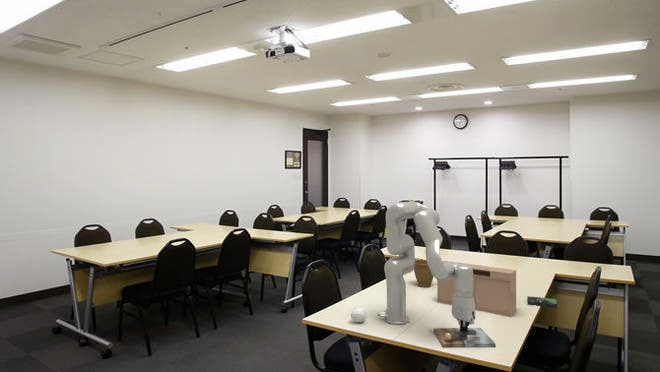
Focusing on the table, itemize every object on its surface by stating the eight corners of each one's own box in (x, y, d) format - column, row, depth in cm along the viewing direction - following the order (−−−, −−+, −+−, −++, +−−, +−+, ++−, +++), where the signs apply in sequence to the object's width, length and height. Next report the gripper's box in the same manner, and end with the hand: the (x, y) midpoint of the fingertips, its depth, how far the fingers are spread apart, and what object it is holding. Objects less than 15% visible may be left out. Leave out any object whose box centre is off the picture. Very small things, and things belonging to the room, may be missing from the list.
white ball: (357, 318, 213) (357, 303, 213) (369, 321, 208) (369, 306, 208) (347, 322, 207) (347, 307, 206) (360, 326, 202) (360, 310, 202)
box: (510, 317, 211) (510, 273, 210) (436, 303, 236) (436, 263, 236) (516, 312, 218) (516, 270, 218) (444, 298, 244) (444, 260, 243)
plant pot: (434, 283, 278) (433, 259, 278) (437, 289, 263) (437, 264, 263) (411, 283, 280) (411, 259, 279) (413, 289, 265) (413, 264, 264)
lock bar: (447, 342, 177) (447, 334, 177) (443, 339, 180) (443, 332, 180) (476, 338, 181) (476, 331, 180) (473, 336, 183) (473, 328, 183)
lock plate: (443, 347, 176) (443, 337, 176) (433, 331, 194) (433, 321, 194) (495, 347, 175) (495, 336, 175) (480, 331, 193) (480, 321, 193)
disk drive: (527, 306, 230) (558, 308, 224) (527, 301, 230) (558, 303, 224) (527, 300, 240) (556, 303, 234) (527, 296, 239) (556, 298, 234)
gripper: (445, 290, 188) (445, 330, 189) (471, 299, 175) (471, 342, 176) (456, 288, 192) (457, 327, 192) (483, 296, 179) (483, 338, 179)
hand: (463, 334), depth 184 cm, fingers closed
